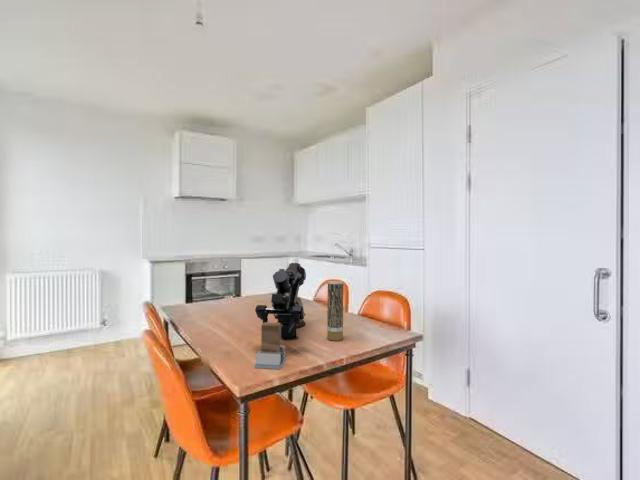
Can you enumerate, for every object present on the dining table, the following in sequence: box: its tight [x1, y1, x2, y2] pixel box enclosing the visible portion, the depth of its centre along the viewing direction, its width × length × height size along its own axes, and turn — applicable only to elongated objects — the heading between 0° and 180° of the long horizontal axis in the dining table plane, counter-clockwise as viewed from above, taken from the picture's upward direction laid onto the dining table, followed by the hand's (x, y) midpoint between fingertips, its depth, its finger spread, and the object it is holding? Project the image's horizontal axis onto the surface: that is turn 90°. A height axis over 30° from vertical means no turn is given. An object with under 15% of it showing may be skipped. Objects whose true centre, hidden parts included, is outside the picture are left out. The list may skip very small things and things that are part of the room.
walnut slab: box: [260, 322, 282, 352], centre depth 124 cm, size 4×6×13 cm, turn 83°
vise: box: [254, 344, 287, 370], centre depth 126 cm, size 14×9×5 cm, turn 174°
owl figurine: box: [272, 296, 306, 330], centre depth 172 cm, size 18×12×17 cm, turn 131°
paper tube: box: [326, 280, 344, 342], centre depth 152 cm, size 7×7×25 cm
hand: (276, 331), depth 131 cm, fingers open, 9 cm apart
